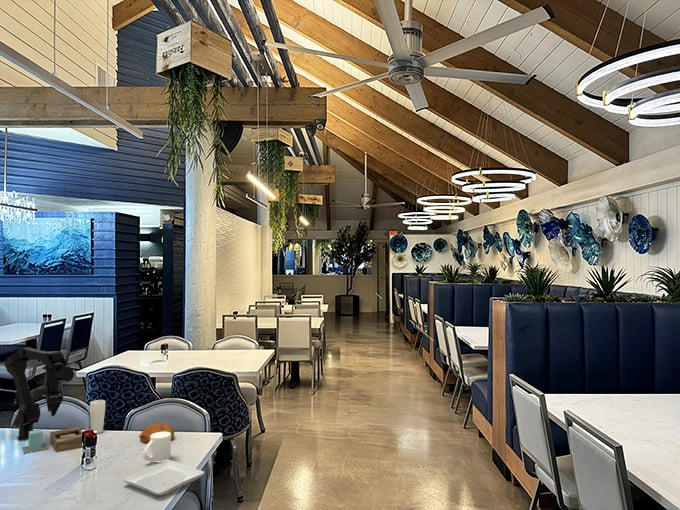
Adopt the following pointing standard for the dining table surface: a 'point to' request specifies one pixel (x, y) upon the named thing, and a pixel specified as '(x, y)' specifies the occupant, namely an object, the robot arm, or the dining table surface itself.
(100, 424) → the drinking glass
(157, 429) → the croissant
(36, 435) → the block
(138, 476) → the salad plate
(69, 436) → the crate
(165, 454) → the mug
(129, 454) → the dining table surface
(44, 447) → the mat
